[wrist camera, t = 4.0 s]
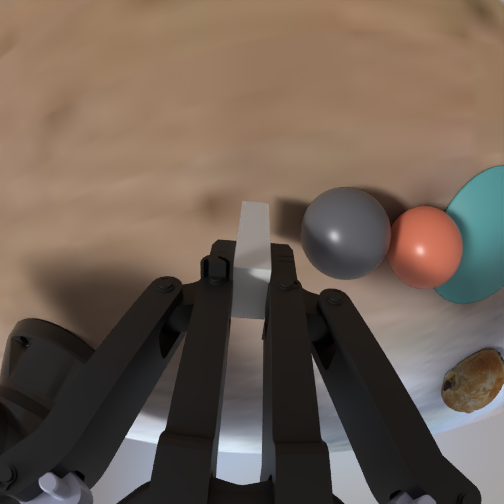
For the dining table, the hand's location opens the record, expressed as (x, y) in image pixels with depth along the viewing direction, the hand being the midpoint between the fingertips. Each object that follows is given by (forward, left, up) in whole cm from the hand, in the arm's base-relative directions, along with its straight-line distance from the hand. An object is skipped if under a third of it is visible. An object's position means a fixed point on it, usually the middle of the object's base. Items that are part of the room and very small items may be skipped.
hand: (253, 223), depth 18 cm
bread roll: (0, -37, -3) cm, 37 cm away
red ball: (+6, -10, +1) cm, 12 cm away
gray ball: (+3, -5, +1) cm, 6 cm away
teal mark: (+11, -18, -2) cm, 21 cm away
